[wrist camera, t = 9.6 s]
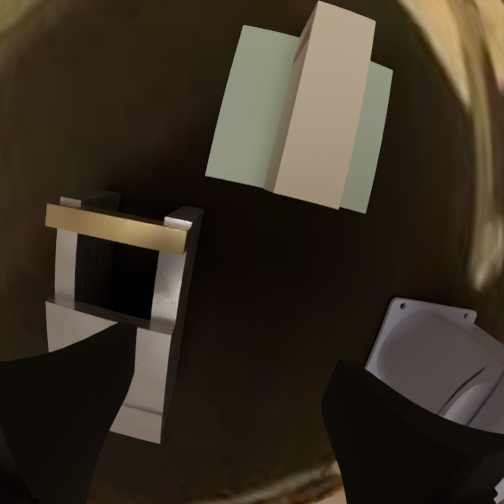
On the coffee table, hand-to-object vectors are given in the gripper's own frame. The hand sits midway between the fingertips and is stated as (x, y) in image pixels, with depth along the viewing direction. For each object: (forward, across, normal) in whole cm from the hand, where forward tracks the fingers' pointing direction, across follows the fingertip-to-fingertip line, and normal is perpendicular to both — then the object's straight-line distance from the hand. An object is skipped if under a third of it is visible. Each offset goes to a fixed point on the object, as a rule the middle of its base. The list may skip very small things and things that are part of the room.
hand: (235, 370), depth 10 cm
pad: (+10, -2, -11) cm, 15 cm away
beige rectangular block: (+9, -2, -11) cm, 14 cm away
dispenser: (+10, +6, +2) cm, 12 cm away
